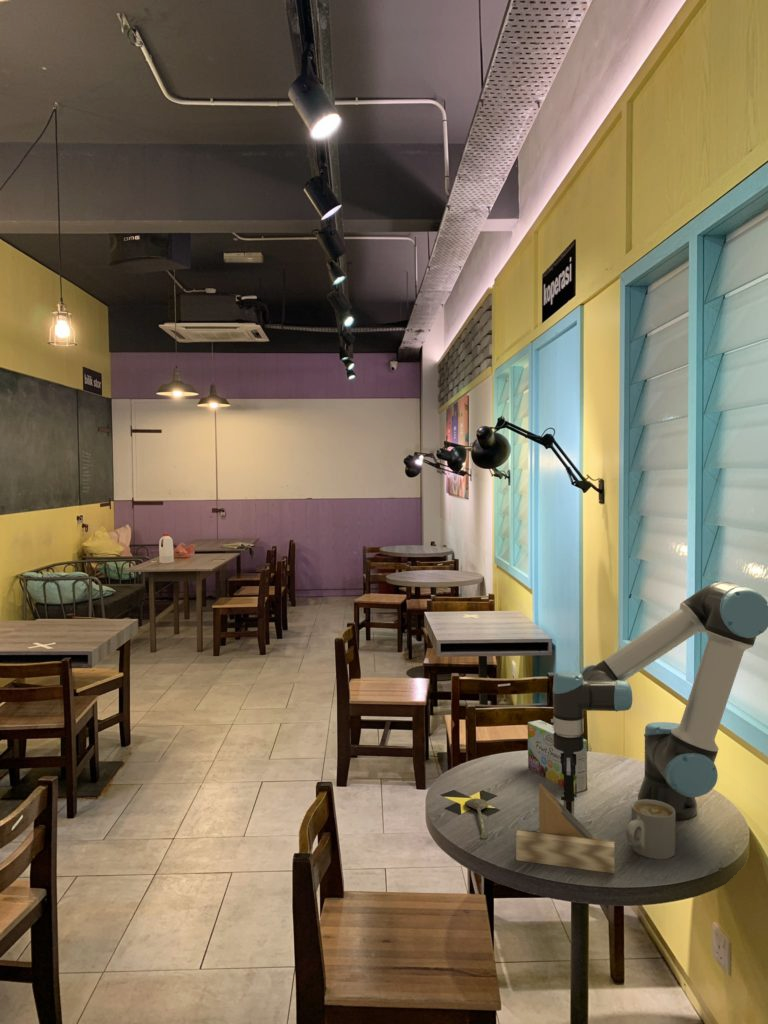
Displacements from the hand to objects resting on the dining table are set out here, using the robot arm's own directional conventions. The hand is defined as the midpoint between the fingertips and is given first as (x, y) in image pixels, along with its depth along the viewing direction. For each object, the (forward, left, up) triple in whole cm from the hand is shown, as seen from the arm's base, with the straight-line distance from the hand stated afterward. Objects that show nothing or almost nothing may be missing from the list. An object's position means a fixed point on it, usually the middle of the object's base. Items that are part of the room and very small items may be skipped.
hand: (569, 823), depth 185 cm
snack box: (+5, -31, -1) cm, 32 cm away
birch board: (+1, +19, -1) cm, 19 cm away
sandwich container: (-2, +11, -2) cm, 12 cm away
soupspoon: (+23, +1, -2) cm, 23 cm away
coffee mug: (-19, +7, -1) cm, 20 cm away
